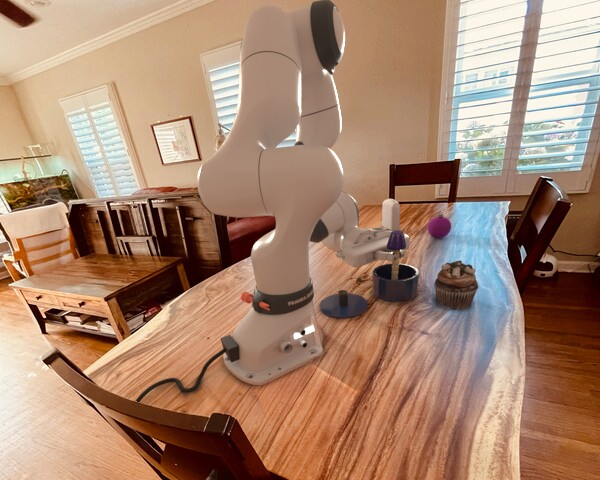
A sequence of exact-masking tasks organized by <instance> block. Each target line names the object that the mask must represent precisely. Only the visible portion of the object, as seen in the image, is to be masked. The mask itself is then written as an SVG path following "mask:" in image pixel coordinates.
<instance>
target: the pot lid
mask: <svg viewBox="0 0 600 480" xmlns="http://www.w3.org/2000/svg"><path fill="white" fill-rule="evenodd" d="M318 307H319V311H320V312H321V313H322V314H323V315H325V316H326V317H329V318H333V319H339V320H340V319H341V320H343V319H352V318H357V317H359V316H361V315H363V314H364V313H366V311H368V308H369V302H368V300H367V299H366V298H365V297H363V296H361V295H359V294H357V293H350V292H349V291H347V290H346V289H341V290H338V292H337V293H335V294H330V295H328V296H326V297H324V298H323V299H321V301H320V303H319V305H318Z"/></svg>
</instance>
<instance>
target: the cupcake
mask: <svg viewBox="0 0 600 480" xmlns="http://www.w3.org/2000/svg"><path fill="white" fill-rule="evenodd" d="M476 271H477V270H476V268H474V267H473V265H472V264H470V263H469V264H465V263H464V262H463V261H462V260H456V261H455V260H454V261H452V262H446V263H444V264H442V265H441V269H440V270H439V272H438V273H437V275H436V279H435V281H434V291H435V299H436V302H437V303H438V304H440V305H442V306H444V307H448V308H450V309H451V310H453V311H459V310H461V311H462V310H466V309H468V308H469V307H471V305H472V304H473V300H474V299H475V296H476V293H477V291H478V290H479V287H480V286H479V283H478V281H477V276H476V275H475V273H476Z"/></svg>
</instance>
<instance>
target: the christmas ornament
mask: <svg viewBox="0 0 600 480" xmlns="http://www.w3.org/2000/svg"><path fill="white" fill-rule="evenodd" d="M451 231H452V223H451V221H450V219H449V218H448V217H445V216H444V213H441V211H439V212H438V214H437V216H435V217H433V218H432V219H430V221H429V222H428V223H427V233H428V234H429V236H430V237H432V238H434V239H443V238H445V237H446V236H448V235H449V234H450V232H451Z"/></svg>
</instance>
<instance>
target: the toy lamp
mask: <svg viewBox="0 0 600 480" xmlns="http://www.w3.org/2000/svg"><path fill="white" fill-rule="evenodd" d="M391 231H392V230H391ZM404 234H405V233H404V231H403V230H401V229H398V230H395V231H392V232H391V234H390V237H389V240H388V243H387V248H388V249H389V250H393V253H395V254H396V260H394V261H391V264H393V265H392V272H391V274H392V276H391V280H397V279H398V276H397V275H398V269H399V265H398V264H400V258H399V252H400V250H403V249H405V248H406V242H405V237H404Z"/></svg>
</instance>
